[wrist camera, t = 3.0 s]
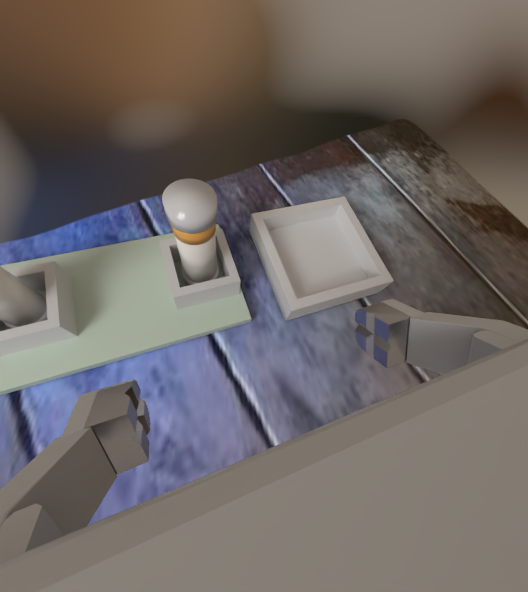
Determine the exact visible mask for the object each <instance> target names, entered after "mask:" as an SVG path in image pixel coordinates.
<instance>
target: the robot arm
mask: <svg viewBox="0 0 528 592" xmlns="http://www.w3.org/2000/svg"><path fill="white" fill-rule="evenodd" d="M355 321H356V322H357V323H358V326H357V328H356V330H355V334H356V340H357V342H358V345H359V346H360V347H361V349H363V350H364V351H365V352H367V353H371V354H373V355H374V359H375V360H377V361H378V362H379V363H381V364H382V365H383V366H385V367H386V368H389V367H392V366H395V365H398V364H400V363H403V362H406V363H409V364H412V365H415V366H418V367H421V368H424V369H427V370H430V371H432V372H435V373H438V374H441V376H439V377H437V378H434V379H432V380H429V381H427V382H425V383H422V384H420V385H418V386H415V387H413V388H411V389H408V390H406V391H403V392H401V393H399V394H396V395H394V396H392V397H389V398H387V399H385V400H382V401H380V402H377V403H375V404H373V405H370V406H368V407H366V408H363V409H361V410H359V411H356V412H354V413H352V414H349V415H347V416H345V417H342V418H340V419H338V420H335V421H333V422H330V423H328V424H326V425H323V426H321V427H319V428H316V429H314V430H312V431H309V432H307V433H305V434H302V435H300V436H298V437H295V438H293V439H291V440H288V441H286V442H284V443H281V444H279V445H277V446H274V447H272V448H270V449H267V450H265V451H263V452H260V453H258V454H255V455H253V456H251V457H248V458H246V459H244V460H241V461H239V462H237V463H234V464H232V465H230V466H227V467H225V468H222V469H220V470H218V471H215V472H213V473H211V474H208V475H206V476H204V477H201V478H199V479H197V480H194V481H192V482H190V483H187V484H185V485H182V486H180V487H178V488H175V489H173V490H171V491H168V492H166V493H164V494H161V495H159V496H157V497H154V498H152V499H150V500H147V501H145V502H142V503H140V504H138V505H135V506H133V507H131V508H128V509H126V510H124V511H121V512H119V513H117V514H114V515H112V516H110V517H107V518H105V519H102V520H100V521H98V522H95V523H93V524H91V525H88V523H89V521H90V520H91V518H92V516H93V515H94V513H95V512H96V510H97V508H98V507H99V505H100V503H101V502H102V500H103V498H104V497H105V495H106V493H107V492H108V490H109V489H110V487H111V485H112V484H113V482H114V480H115V479H116V477H117V474H119V473H122V472H124V471H127V470H129V469H131V468H134V467H136V466H138V465H141V464H143V463H146V462H148V458H149V440H148V438H147V434H148V433H149V431H150V417H149V412H148V408H147V405H146V403H145V400H143V399H141V398H140V388H139V386H138V383H137V381H136V380H134V379H133V380H130V381H126V382H123V383H119V384H116V385H113V386H109V387H106V388H102V389H100V390H95V391H92V392H89V393H86V394H83V395H81V396H79V397H78V399H77V402H76V404H75V406H74V409H73V411H72V414H71V416H70V418H69V421H68V423H67V426H66V428H65V430H64V433H63V435H62V437H60V438H57V439H55V440H54V441H53V442H52V443H51V444H50V445H48V446H47V447H46V448H45V449H44V450H43V451H42V452H41V453H40V454H39V455H38V456H37V457H35V458H34V459H33V460H32V461H31V462H30V463H29V464H28V465H27V466H26V467H25V468H24V469H22V470H21V471H20V472H19V473H18V474H17V475H16V476H15V477H14V478H13V479H12V480H10V481H9V482H8V483H7V484H6V485H5V486H4V487H3V488H2V489H1V490H0V592H528V330H527V329H525V328H522V327H519V326H517V325H514V324H511V323H509V322H506V321H501V320H493V319H484V318H475V317H467V316H458V315H450V314H441V313H433V312H426V313H423V312H421V311H419V310H417V309H414V308H412V307H410V306H408V305H406V304H403V303H401V302H399V301H397V300H394V299H387V300H385V301H382V302H379V303H377V304H374V305H371V306H368V307H365V308H362V309H359V310H357V311H356V314H355ZM87 525H88V526H87Z"/></svg>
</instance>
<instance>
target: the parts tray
mask: <svg viewBox="0 0 528 592" xmlns="http://www.w3.org/2000/svg"><path fill="white" fill-rule="evenodd" d="M249 232H250V234H251V237H252V239H253V242H254V244H255V247H256V249H257V252H258V254H259V257H260V259H261V262H262V264H263V267H264V269H265V272H266V274H267V277H268V279H269V282H270V285H271V287H272V290H273V292H274V295H275V297H276V300H277V302H278V305H279V307H280V310H281V312H282V315H283V317H284V320H285V321H287V320H291V319H294V318H297V317H301V316H304V315H307V314H310V313H314V312H317V311H320V310H324V309H327V308H330V307H333V306H337V305H340V304H343V303H347V302H350V301H353V300H357V299H360V298H363V297H366V296H370V295H373V294H376V293H379V292H380V291H382V290H383V289H384V288H385V287H387V286H388V285H389V284H390V283H392V282H393V279H392V277H391V275H390V274H389V272H388V270H387V269H386V267H385V265H384V263H383V262H382V260H381V258H380V256H379V255H378V253H377V251H376V250H375V248H374V246H373V244H372V243H371V241H370V239H369V238H368V236H367V234H366V232H365V231H364V229H363V227H362V226H361V224H360V222H359V220H358V219H357V217H356V215H355V214H354V212H353V210H352V208H351V207H350V205H349V203H348V202H347V200H346V198H345V196H344V197H339V198H333V199H328V200H323V201H317V202H312V203H306V204H301V205H296V206H290V207H285V208H280V209H274V210H269V211H264V212H258V213H253V214H251V221H250V228H249Z"/></svg>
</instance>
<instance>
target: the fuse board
mask: <svg viewBox="0 0 528 592" xmlns="http://www.w3.org/2000/svg"><path fill="white" fill-rule="evenodd" d="M215 235H216V261H217V263H218V266H219V278H218V279H214V280H210V281H205V282H201V283H197V284H193V285H189V286H187V285H186V283H185V281H184V278H183V274H182V262H181V258H180V254H179V250H178V247H177V243H176V239H175V235H174V233H170V234H165V235H159V236H154V237H149V238H144V239H138V240H133V241H128V242H123V243H117V244H112V245H107V246H102V247H96V248H91V249H86V250H81V251H75V252H70V253H65V254H60V255H54V256H49V257H44V258H39V259H33V260H28V261H23V262H18V263H12V264H7V265H2V266H1V267H2V268H4V269H5V270H7V271H8V272H10V273H11V274H12V275H14V276H15V277H17V278H18V279H20V280H21V281H23V282H24V283H25V284H27V285H28V286H30V287H31V288H33V289H34V290H38V291H41V292H43V293H44V294H46V303H47V319H48V320H45V321H41V322H37V323H33V324H28V325H24V326H20V327H16V328H10V327H8V326H6V325H5V324H4V323H3V321H1V320H0V395H3V394H7V393H10V392H14V391H17V390H20V389H24V388H27V387H31V386H34V385H37V384H41V383H44V382H48V381H51V380H54V379H58V378H61V377H65V376H68V375H71V374H75V373H78V372H82V371H85V370H88V369H92V368H95V367H99V366H102V365H105V364H109V363H112V362H116V361H119V360H122V359H126V358H129V357H133V356H136V355H139V354H143V353H146V352H150V351H153V350H156V349H160V348H163V347H167V346H170V345H173V344H177V343H180V342H184V341H187V340H190V339H194V338H197V337H201V336H204V335H207V334H211V333H214V332H218V331H221V330H224V329H228V328H231V327H235V326H238V325H241V324H245V323H248V322H251V316H250V313H249V310H248V307H247V304H246V301H245V299H244V296H243V293H242V290H241V287H240V282H241V280H240V278H239V275H238V272H237V269H236V266H235V263H234V261H233V258H232V255H231V252H230V249H229V247H228V244H227V241H226V238H225V235H224V232H223V230H222V228H221V229H220V227H219V225H218V224H217V225H216V231H215Z"/></svg>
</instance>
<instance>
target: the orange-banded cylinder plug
mask: <svg viewBox="0 0 528 592" xmlns="http://www.w3.org/2000/svg"><path fill="white" fill-rule="evenodd" d="M162 201H163V205H164V209H165V213H166V216H167V219H168V222H169V223H170V225H171V226H172V230H173V233H174V235H175V239H176V243H177V247H178V250H179V254H180V258H181V262H182V274H183V278H184V281H185V283H186V285H187V286H189V285H193V284H197V283H201V282H205V281H210V280H214V279H218V278H219V266H218V263H217V261H216V235H215V231H216V220H217V196H216V193H215V191H214V190H213V188H212V187H211V186H210V185H208V184H207V183H205V182H203V181H200V180H197V179H182V180H178V181H175V182H173V183H172V184H171V185H169V186H168V187H167V188H166V189H165V191H164V193H163V196H162Z"/></svg>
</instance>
